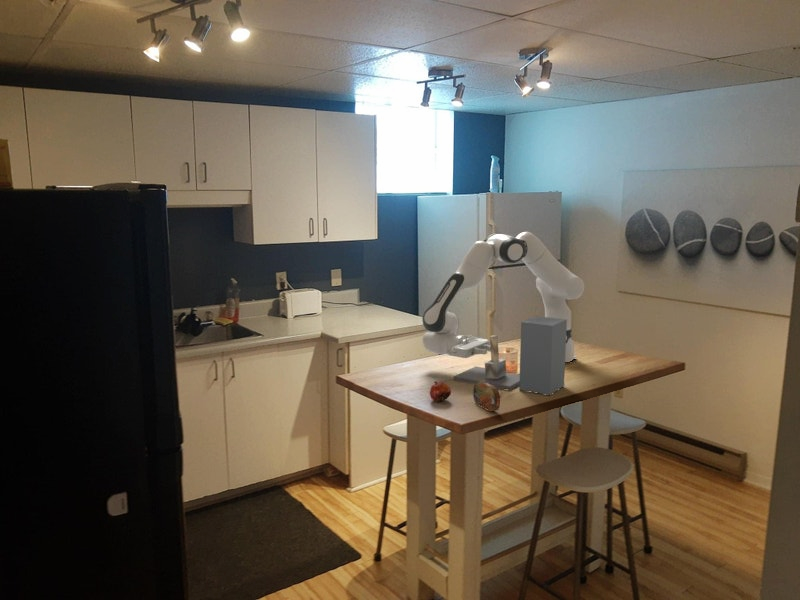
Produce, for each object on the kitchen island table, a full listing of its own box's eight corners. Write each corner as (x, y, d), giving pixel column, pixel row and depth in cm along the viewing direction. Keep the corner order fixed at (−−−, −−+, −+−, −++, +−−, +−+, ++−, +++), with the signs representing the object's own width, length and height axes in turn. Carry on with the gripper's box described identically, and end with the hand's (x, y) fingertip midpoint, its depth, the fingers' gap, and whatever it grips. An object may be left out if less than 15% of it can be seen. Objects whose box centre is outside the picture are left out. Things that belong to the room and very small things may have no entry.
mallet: (483, 337, 242) (494, 338, 239) (492, 334, 248) (504, 334, 245) (485, 378, 243) (497, 379, 240) (494, 373, 250) (506, 374, 247)
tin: (472, 401, 220) (472, 378, 219) (480, 400, 221) (480, 377, 220) (493, 415, 206) (493, 390, 205) (501, 414, 207) (502, 389, 206)
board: (453, 379, 246) (453, 376, 246) (475, 369, 261) (475, 366, 260) (509, 390, 233) (509, 386, 232) (529, 379, 247) (529, 375, 247)
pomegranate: (453, 408, 219) (446, 385, 226) (455, 396, 214) (448, 373, 221) (433, 412, 218) (426, 388, 225) (434, 400, 213) (427, 376, 220)
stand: (519, 390, 232) (521, 321, 228) (534, 381, 244) (536, 316, 240) (549, 396, 226) (552, 325, 222) (564, 386, 237) (566, 319, 233)
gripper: (445, 343, 244) (477, 347, 237) (471, 334, 261) (501, 338, 253) (445, 359, 245) (476, 364, 238) (470, 348, 262) (500, 353, 254)
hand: (489, 350), depth 245 cm, fingers open, 4 cm apart
